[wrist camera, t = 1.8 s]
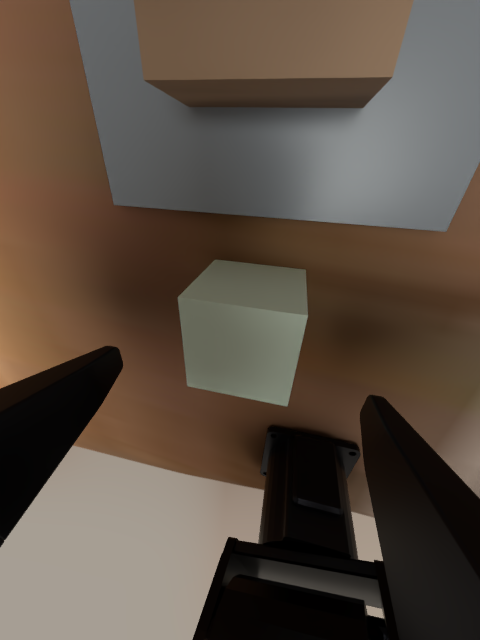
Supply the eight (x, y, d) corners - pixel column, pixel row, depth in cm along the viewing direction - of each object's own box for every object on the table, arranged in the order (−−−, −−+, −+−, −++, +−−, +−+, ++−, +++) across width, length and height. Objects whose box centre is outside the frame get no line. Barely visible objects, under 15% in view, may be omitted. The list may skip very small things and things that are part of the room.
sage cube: (291, 343, 14) (287, 406, 10) (216, 331, 15) (187, 386, 11) (305, 268, 11) (308, 315, 8) (215, 258, 12) (177, 297, 8)
